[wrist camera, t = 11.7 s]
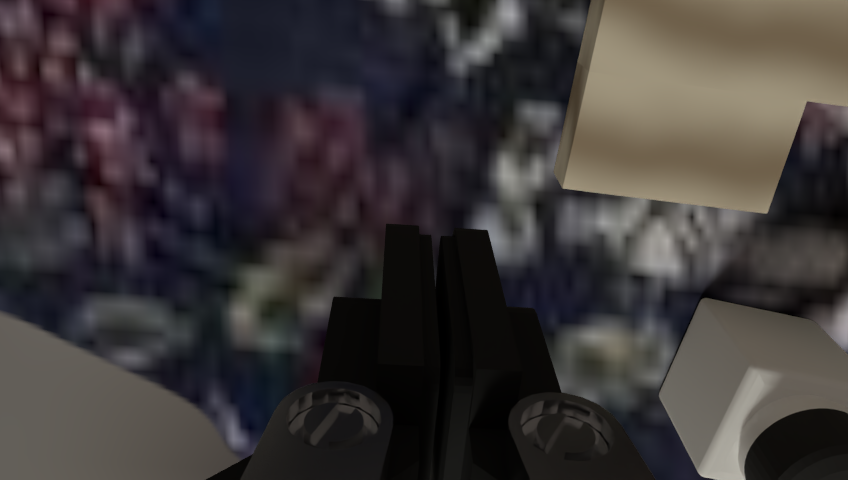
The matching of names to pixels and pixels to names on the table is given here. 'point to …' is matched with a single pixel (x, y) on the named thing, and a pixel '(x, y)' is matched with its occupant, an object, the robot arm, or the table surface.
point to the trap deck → (698, 96)
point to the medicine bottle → (759, 396)
